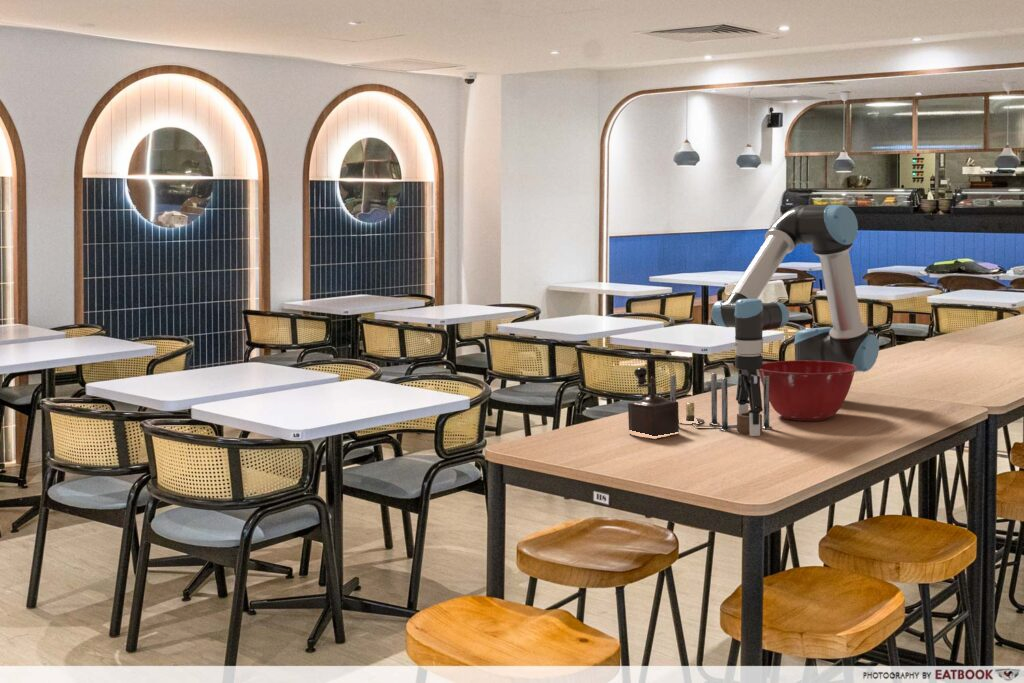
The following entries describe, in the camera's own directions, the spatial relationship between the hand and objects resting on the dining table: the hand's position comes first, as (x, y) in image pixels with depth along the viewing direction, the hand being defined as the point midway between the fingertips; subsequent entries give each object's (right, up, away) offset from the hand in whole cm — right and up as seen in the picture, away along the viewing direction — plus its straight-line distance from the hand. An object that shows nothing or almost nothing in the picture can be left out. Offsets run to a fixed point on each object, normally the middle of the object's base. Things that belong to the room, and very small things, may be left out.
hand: (749, 431), depth 322 cm
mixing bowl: (+21, +3, +19) cm, 29 cm away
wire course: (-7, 0, +7) cm, 10 cm away
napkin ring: (0, 0, 0) cm, 0 cm away
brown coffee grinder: (-28, -1, +3) cm, 28 cm away
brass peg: (-14, +1, +17) cm, 22 cm away
